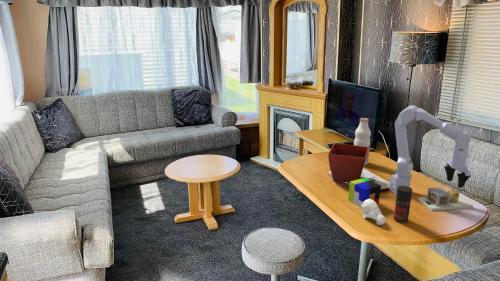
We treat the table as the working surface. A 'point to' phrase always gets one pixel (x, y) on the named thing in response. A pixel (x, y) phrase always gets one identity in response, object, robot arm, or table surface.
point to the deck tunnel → (442, 193)
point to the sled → (453, 197)
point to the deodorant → (402, 204)
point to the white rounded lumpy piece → (372, 211)
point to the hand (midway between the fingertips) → (454, 184)
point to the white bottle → (363, 136)
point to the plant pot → (347, 162)
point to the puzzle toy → (363, 191)
